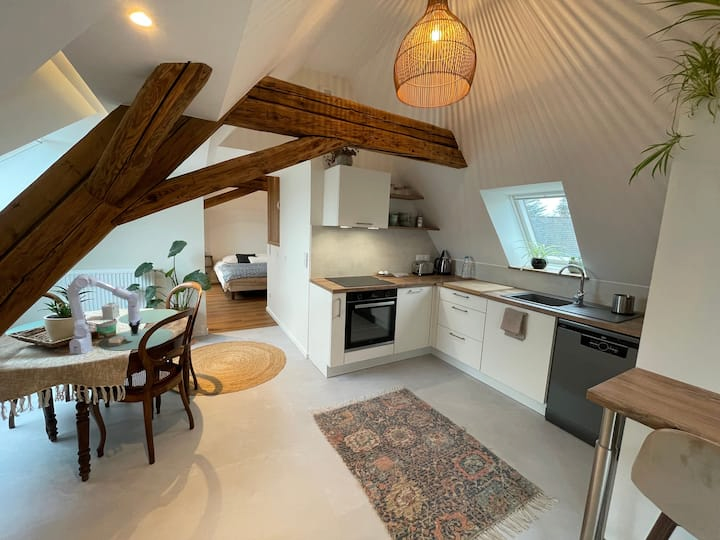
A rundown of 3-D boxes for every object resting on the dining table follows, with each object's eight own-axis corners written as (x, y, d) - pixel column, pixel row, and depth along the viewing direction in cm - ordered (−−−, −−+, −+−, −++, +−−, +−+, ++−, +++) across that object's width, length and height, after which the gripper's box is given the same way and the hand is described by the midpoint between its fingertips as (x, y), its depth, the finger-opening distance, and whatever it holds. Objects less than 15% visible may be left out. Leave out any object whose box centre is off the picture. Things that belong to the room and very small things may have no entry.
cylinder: (136, 336, 184) (136, 330, 184) (129, 336, 184) (128, 330, 183) (141, 333, 189) (140, 327, 188) (134, 333, 188) (133, 327, 188)
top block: (118, 342, 179) (118, 339, 179) (109, 342, 178) (108, 339, 178) (125, 339, 184) (124, 336, 184) (115, 339, 184) (115, 336, 184)
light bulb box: (109, 316, 230) (108, 302, 229) (120, 315, 232) (118, 302, 231) (102, 320, 220) (101, 306, 219) (113, 319, 222) (112, 306, 221)
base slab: (119, 347, 179) (119, 343, 178) (107, 347, 178) (107, 343, 178) (126, 342, 185) (126, 338, 185) (115, 342, 185) (115, 338, 184)
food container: (104, 340, 186) (102, 325, 185) (96, 339, 187) (94, 324, 186) (123, 333, 198) (122, 319, 196) (115, 332, 199) (114, 318, 198)
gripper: (141, 314, 181) (143, 335, 183) (141, 308, 192) (143, 328, 194) (127, 315, 176) (128, 337, 179) (128, 309, 188) (129, 329, 190)
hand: (135, 332), depth 186 cm, fingers closed on cylinder, 4 cm apart
